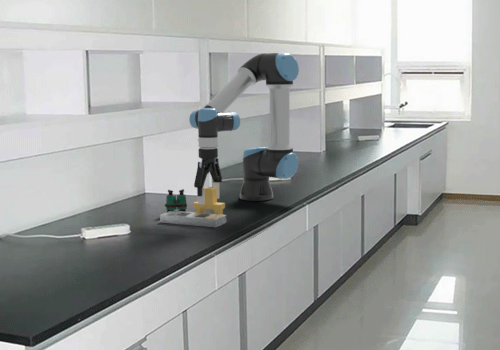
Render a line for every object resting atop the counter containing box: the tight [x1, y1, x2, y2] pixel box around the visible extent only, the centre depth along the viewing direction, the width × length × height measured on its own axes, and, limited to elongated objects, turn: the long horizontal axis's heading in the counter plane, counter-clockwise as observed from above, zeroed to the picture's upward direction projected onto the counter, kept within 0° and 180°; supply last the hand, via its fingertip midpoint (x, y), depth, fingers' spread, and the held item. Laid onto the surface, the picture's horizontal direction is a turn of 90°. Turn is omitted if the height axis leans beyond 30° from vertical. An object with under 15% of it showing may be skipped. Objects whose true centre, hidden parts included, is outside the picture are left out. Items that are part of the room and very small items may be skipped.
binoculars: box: [164, 188, 188, 212], centre depth 292 cm, size 9×11×10 cm
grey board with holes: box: [159, 210, 227, 228], centre depth 276 cm, size 9×24×3 cm, turn 67°
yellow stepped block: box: [192, 186, 226, 215], centre depth 284 cm, size 12×4×12 cm, turn 67°
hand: (208, 201), depth 284 cm, fingers open, 13 cm apart
